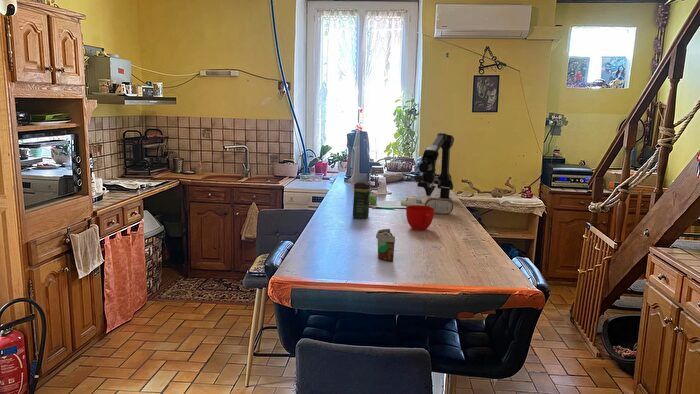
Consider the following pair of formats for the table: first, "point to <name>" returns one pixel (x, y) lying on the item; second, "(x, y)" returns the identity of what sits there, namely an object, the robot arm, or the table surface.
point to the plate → (418, 199)
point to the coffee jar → (361, 199)
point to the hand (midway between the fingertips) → (428, 198)
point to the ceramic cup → (419, 216)
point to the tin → (440, 205)
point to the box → (405, 202)
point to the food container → (385, 245)
